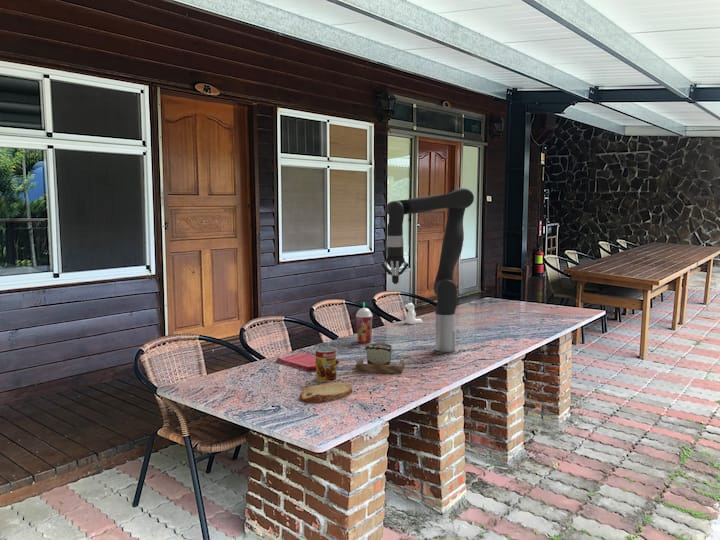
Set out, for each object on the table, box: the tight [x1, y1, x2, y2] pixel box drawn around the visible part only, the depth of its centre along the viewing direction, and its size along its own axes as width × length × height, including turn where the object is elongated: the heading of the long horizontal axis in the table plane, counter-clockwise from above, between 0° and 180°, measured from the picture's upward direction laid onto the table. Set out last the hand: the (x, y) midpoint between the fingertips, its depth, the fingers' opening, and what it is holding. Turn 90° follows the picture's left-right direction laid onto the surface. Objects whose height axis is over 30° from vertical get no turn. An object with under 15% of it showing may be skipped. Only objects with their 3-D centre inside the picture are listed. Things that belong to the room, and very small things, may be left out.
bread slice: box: [299, 382, 353, 404], centre depth 218 cm, size 18×18×4 cm
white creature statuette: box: [404, 302, 423, 325], centre depth 340 cm, size 10×9×12 cm
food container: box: [364, 342, 394, 365], centre depth 251 cm, size 12×6×10 cm, turn 66°
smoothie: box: [355, 302, 374, 344], centre depth 296 cm, size 8×8×20 cm
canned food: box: [315, 346, 337, 383], centre depth 237 cm, size 8×8×12 cm
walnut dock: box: [354, 358, 405, 374], centre depth 249 cm, size 19×10×3 cm, turn 79°
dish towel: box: [275, 351, 340, 372], centre depth 261 cm, size 17×24×3 cm
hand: (395, 283), depth 272 cm, fingers closed
